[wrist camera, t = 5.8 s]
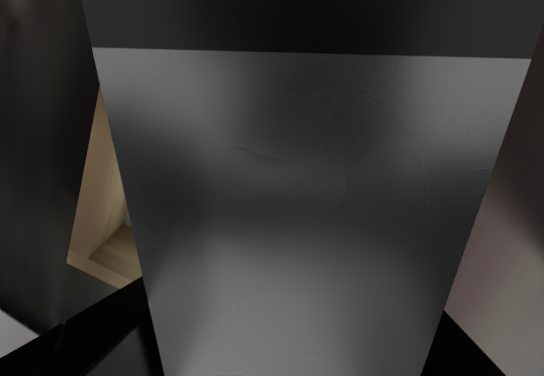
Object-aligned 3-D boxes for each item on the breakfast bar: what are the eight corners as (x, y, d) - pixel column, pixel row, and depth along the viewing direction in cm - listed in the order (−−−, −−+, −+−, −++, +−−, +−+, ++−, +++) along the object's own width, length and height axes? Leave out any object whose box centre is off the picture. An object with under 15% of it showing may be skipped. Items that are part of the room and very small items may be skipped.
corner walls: (456, 147, 16) (488, 182, 13) (303, 324, 24) (297, 375, 20) (169, -11, 15) (119, -21, 12) (107, 226, 23) (66, 262, 19)
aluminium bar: (354, 372, 11) (361, 542, 7) (237, 351, 11) (192, 498, 8) (436, -35, 6) (601, -141, 2) (216, -32, 6) (57, -108, 3)
